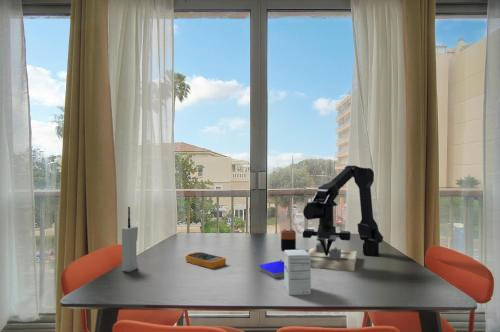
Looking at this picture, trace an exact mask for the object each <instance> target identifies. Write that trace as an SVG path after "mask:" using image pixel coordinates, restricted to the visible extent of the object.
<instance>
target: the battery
mask: <svg viewBox="0 0 500 332" xmlns="http://www.w3.org/2000/svg"><path fill="white" fill-rule="evenodd" d="M296 233H297V232H296V231H295V230H294V228H293V229H292V228H289V230H287V229H282V230H280V249H281V251H282V252H284V250H297V248H296V247H297V241H296V240H297V239H296V238H297V237H296V236H297V234H296Z"/></svg>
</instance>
